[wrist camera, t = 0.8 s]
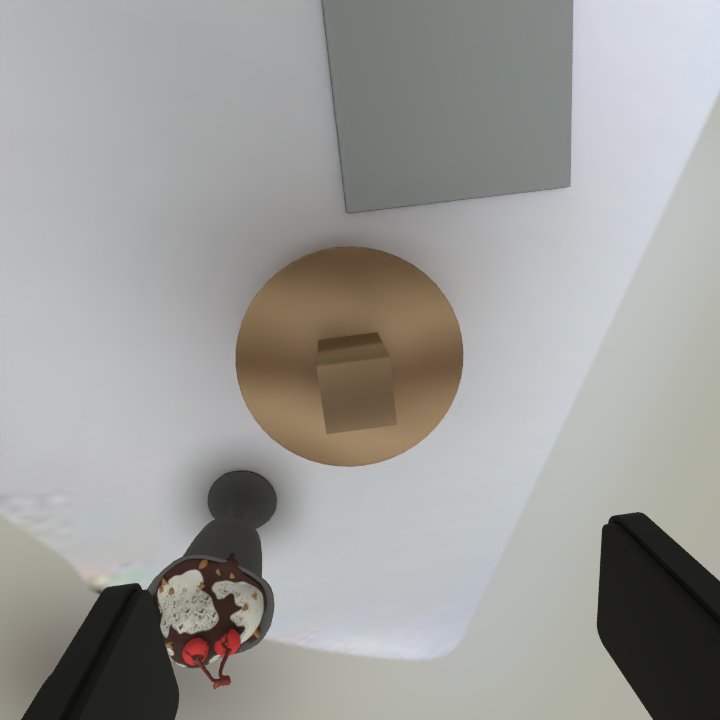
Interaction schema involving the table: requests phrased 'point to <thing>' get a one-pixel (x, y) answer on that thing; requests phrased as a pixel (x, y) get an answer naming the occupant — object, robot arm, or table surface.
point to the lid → (349, 356)
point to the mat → (450, 98)
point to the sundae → (219, 579)
